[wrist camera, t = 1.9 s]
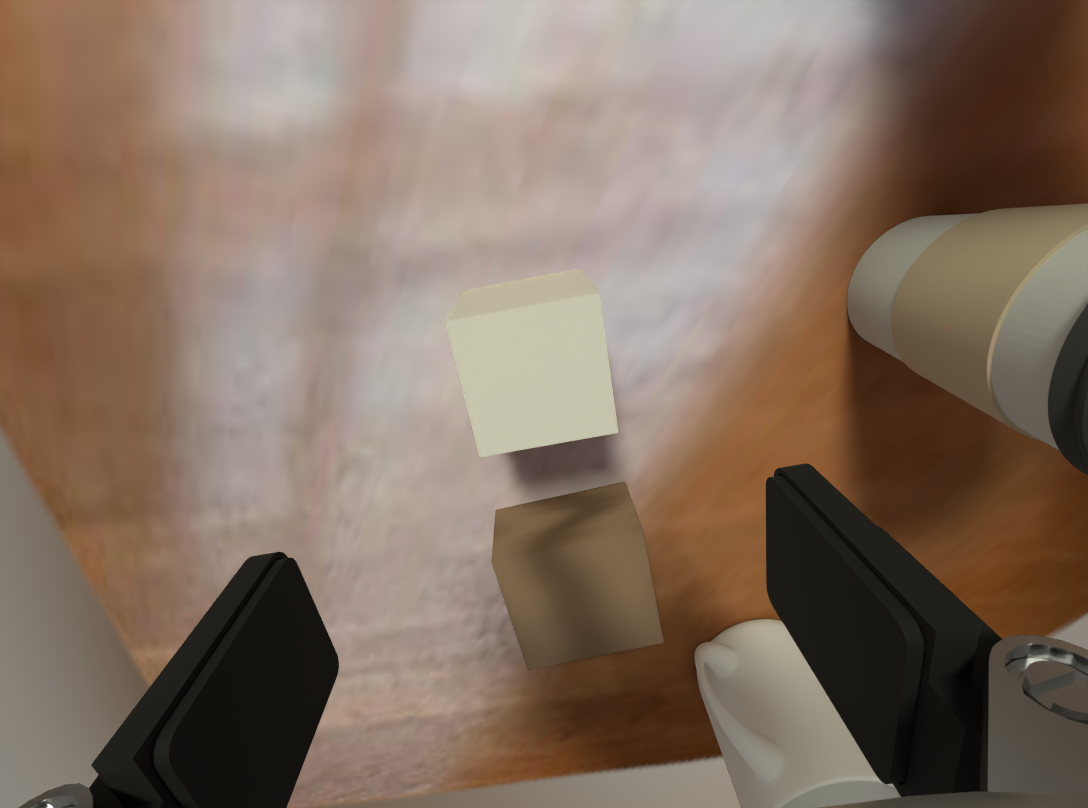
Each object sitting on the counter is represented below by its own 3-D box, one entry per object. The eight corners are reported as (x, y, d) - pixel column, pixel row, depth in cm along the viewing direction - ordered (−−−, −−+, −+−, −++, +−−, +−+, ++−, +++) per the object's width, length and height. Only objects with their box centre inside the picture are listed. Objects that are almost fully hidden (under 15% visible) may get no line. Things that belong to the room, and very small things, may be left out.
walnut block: (624, 479, 31) (642, 529, 26) (644, 581, 34) (664, 642, 29) (496, 508, 31) (491, 562, 27) (527, 606, 34) (527, 670, 30)
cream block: (580, 268, 26) (599, 292, 20) (596, 378, 28) (618, 432, 22) (464, 290, 26) (445, 321, 20) (489, 397, 28) (479, 457, 22)
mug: (723, 568, 34) (807, 725, 24) (837, 651, 37) (953, 819, 27) (633, 647, 36) (676, 820, 26) (748, 718, 39) (824, 896, 29)
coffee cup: (1037, 251, 27) (1601, 314, 13) (911, 394, 29) (1260, 575, 15) (912, 154, 25) (1418, 103, 11) (790, 318, 27) (1065, 446, 13)
